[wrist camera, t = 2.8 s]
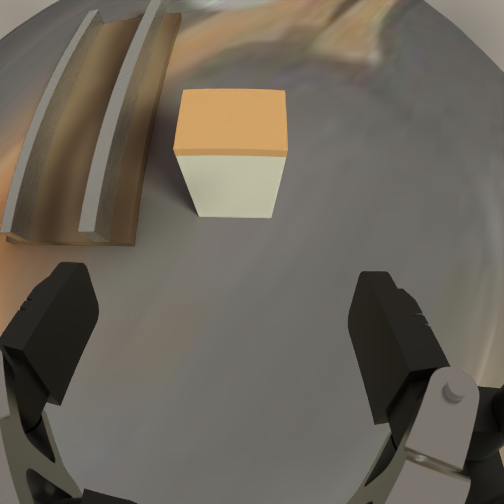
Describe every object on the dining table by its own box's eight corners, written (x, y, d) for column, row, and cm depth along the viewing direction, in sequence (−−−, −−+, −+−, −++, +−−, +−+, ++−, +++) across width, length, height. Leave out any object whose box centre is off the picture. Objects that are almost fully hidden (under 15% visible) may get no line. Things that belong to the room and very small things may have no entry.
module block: (199, 216, 22) (173, 149, 13) (202, 170, 23) (183, 89, 14) (271, 218, 22) (287, 150, 13) (270, 171, 23) (284, 90, 14)
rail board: (12, 243, 21) (-13, 232, 18) (86, 34, 27) (77, 14, 24) (134, 245, 21) (116, 231, 18) (181, 18, 27) (177, -5, 24)
